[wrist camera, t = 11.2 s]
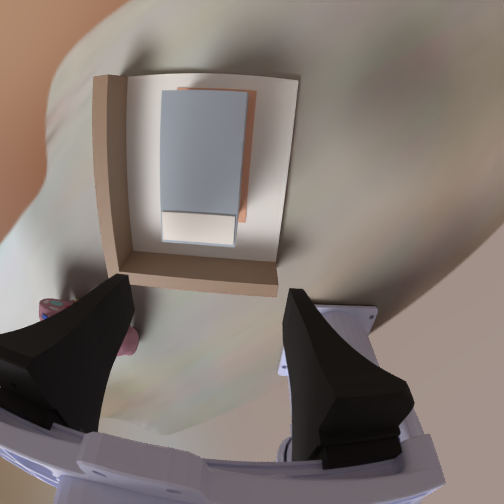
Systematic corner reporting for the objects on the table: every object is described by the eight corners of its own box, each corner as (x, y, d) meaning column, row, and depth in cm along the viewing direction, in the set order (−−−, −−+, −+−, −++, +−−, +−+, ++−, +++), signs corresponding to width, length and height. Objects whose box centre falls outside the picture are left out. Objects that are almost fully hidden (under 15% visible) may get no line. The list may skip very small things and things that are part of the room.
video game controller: (147, 310, 27) (128, 332, 21) (140, 351, 28) (122, 381, 21) (62, 282, 26) (26, 295, 19) (58, 322, 26) (25, 343, 19)
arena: (273, 269, 23) (276, 297, 20) (125, 257, 23) (109, 281, 20) (297, 81, 16) (306, 76, 13) (117, 78, 16) (93, 76, 13)
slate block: (248, 94, 16) (247, 92, 12) (239, 212, 20) (234, 248, 16) (184, 92, 16) (161, 90, 12) (181, 209, 20) (161, 242, 16)
